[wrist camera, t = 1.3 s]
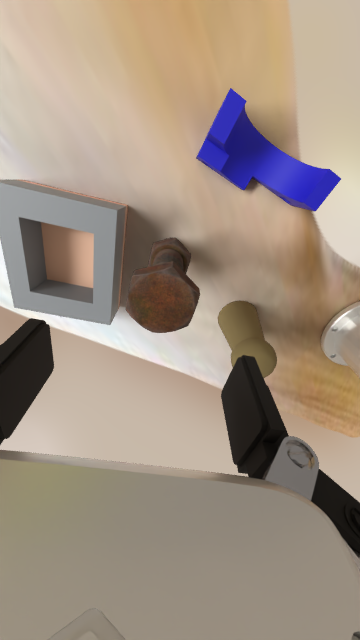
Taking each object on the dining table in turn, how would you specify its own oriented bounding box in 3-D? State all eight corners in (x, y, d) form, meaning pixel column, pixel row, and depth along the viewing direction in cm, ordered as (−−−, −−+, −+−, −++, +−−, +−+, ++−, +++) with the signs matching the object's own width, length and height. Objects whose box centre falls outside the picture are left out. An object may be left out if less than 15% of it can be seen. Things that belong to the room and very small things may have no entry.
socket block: (127, 205, 26) (117, 210, 22) (119, 306, 34) (110, 325, 30) (21, 179, 25) (-12, 179, 21) (36, 290, 33) (14, 307, 28)
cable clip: (196, 158, 24) (199, 152, 19) (219, 108, 22) (230, 88, 17) (281, 217, 27) (303, 226, 22) (309, 178, 25) (341, 178, 20)
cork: (264, 321, 35) (293, 373, 26) (230, 340, 37) (245, 394, 28) (245, 293, 32) (270, 339, 23) (210, 314, 34) (220, 365, 25)
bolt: (155, 272, 31) (135, 338, 18) (143, 235, 28) (111, 281, 16) (196, 263, 30) (206, 325, 17) (189, 224, 27) (193, 263, 15)
